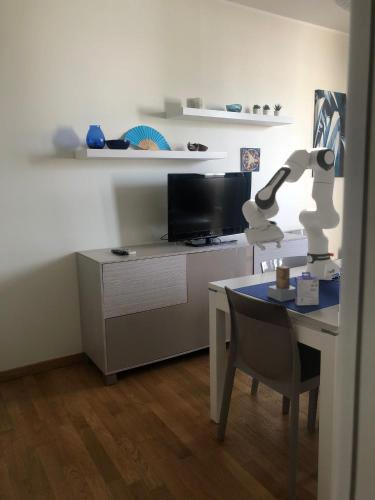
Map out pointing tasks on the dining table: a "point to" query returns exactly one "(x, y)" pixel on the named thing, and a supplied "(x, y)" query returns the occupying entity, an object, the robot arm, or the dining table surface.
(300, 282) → the ink cartridge box
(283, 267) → the brown cylinder
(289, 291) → the white square block
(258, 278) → the dining table surface
